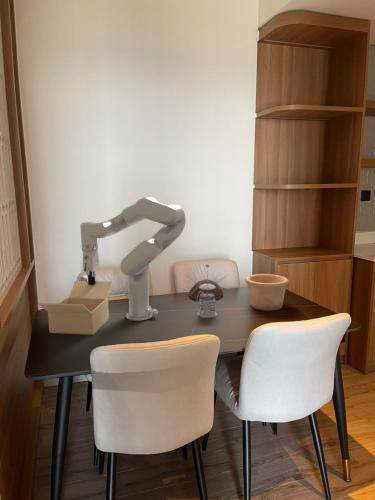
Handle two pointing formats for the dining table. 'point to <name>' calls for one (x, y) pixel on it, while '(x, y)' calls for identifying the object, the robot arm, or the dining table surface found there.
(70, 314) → the carton
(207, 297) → the french press
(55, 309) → the front flap
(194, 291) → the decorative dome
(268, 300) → the pottery
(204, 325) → the dining table surface
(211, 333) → the dining table surface
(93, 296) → the back flap
